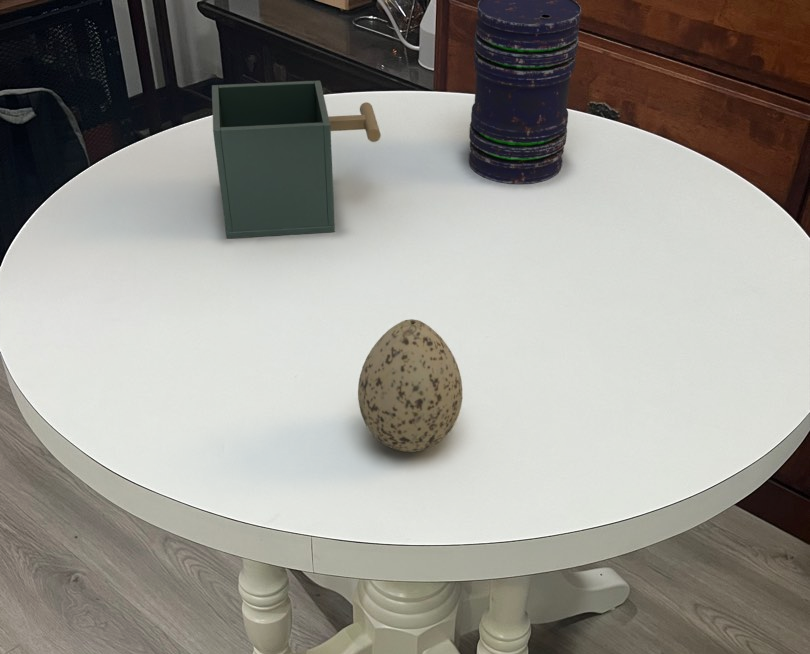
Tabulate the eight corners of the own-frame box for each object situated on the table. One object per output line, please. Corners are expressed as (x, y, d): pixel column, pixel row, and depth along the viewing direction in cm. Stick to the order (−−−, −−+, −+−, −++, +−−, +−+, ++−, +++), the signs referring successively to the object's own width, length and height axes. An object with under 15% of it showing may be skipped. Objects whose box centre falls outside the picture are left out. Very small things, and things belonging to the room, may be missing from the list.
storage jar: (450, 152, 105) (457, -2, 94) (530, 135, 108) (545, -16, 97) (498, 192, 98) (511, 31, 88) (581, 173, 102) (603, 15, 91)
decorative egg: (458, 412, 74) (466, 293, 66) (460, 476, 69) (467, 355, 61) (362, 409, 74) (359, 291, 67) (356, 473, 69) (352, 352, 62)
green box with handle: (212, 130, 84) (383, 122, 86) (211, 84, 91) (369, 78, 93) (226, 238, 91) (383, 229, 93) (224, 188, 98) (370, 180, 100)
